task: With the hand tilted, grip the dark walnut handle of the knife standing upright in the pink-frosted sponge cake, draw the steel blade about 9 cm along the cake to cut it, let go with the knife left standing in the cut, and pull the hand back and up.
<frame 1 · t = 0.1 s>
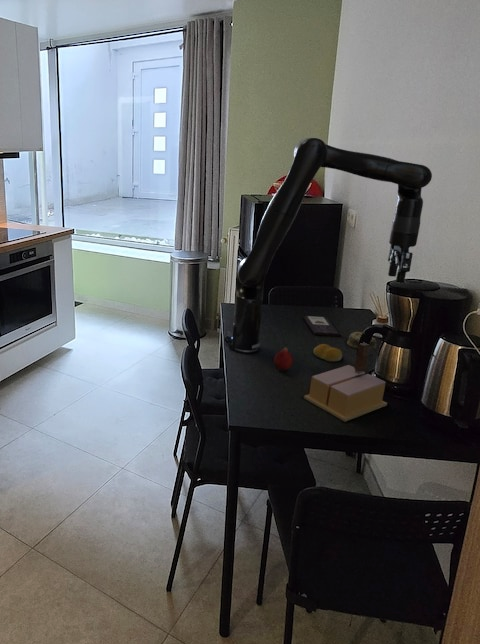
hand: (395, 279, 156), 29 cm above the table, tool pointing down, fingers open, 8 cm apart
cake: (344, 401, 139), on the table
bread roll: (327, 357, 168), on the table
chocolate bar: (320, 327, 195), on the table
onion: (282, 371, 158), on the table
cake knife: (355, 395, 141), point 1 cm above the table, touching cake
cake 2: (361, 345, 178), on the table
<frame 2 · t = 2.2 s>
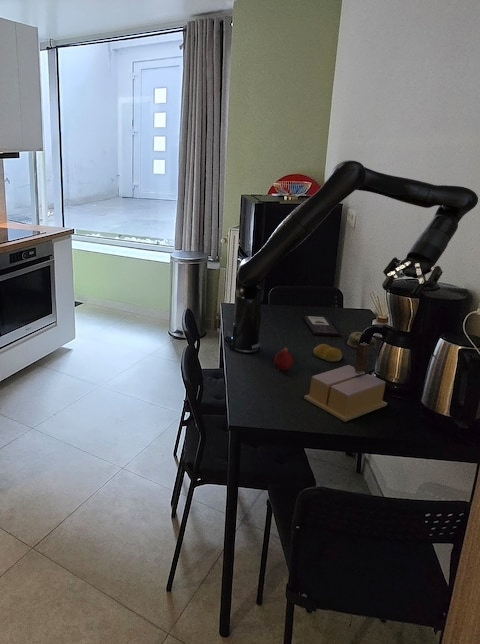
hand: (398, 292, 138), 31 cm above the table, tool tilted 40°, fingers open, 8 cm apart
nothing on the table moved.
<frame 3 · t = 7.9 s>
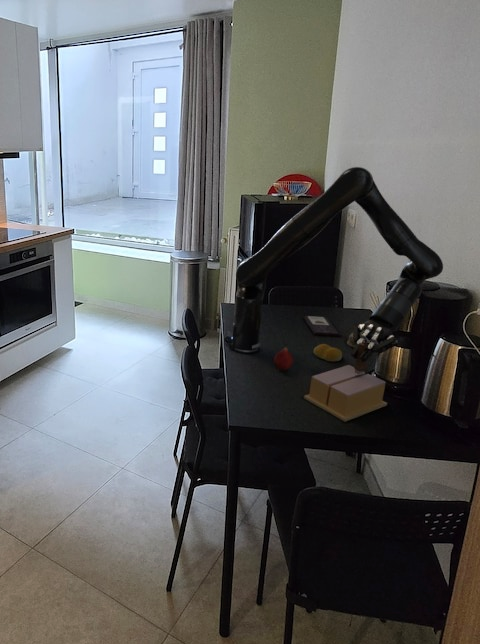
hand: (357, 358, 137), 13 cm above the table, tool tilted 45°, fingers closed on cake knife, 2 cm apart
cake knife: (355, 395, 141), point 1 cm above the table, touching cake, gripper
everything else where it was.
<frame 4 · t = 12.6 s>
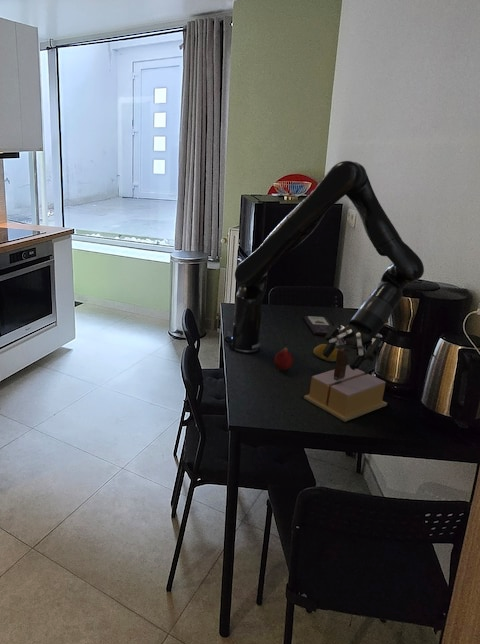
hand: (338, 362, 133), 14 cm above the table, tool tilted 45°, fingers open, 8 cm apart
cake knife: (334, 402, 137), point 1 cm above the table, touching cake
everything else where it was.
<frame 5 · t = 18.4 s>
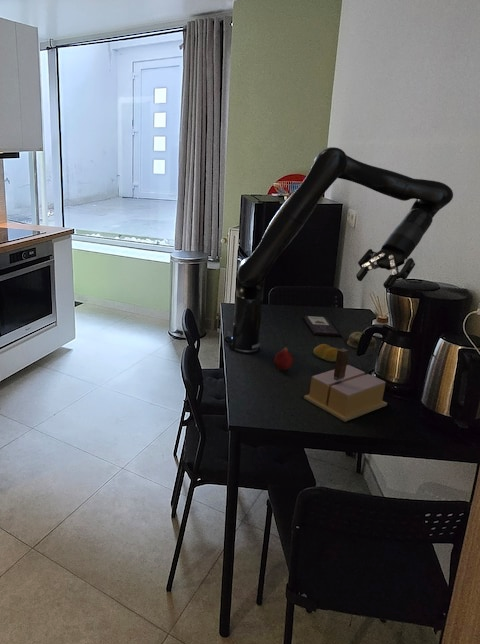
hand: (371, 283, 140), 33 cm above the table, tool tilted 45°, fingers open, 8 cm apart
nothing on the table moved.
at the end: cake knife moved 8.9 cm from its start; cake knife 0.3 cm from the target spot on the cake, point 0.8 cm above the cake's base; cake knife tilted 0° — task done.
